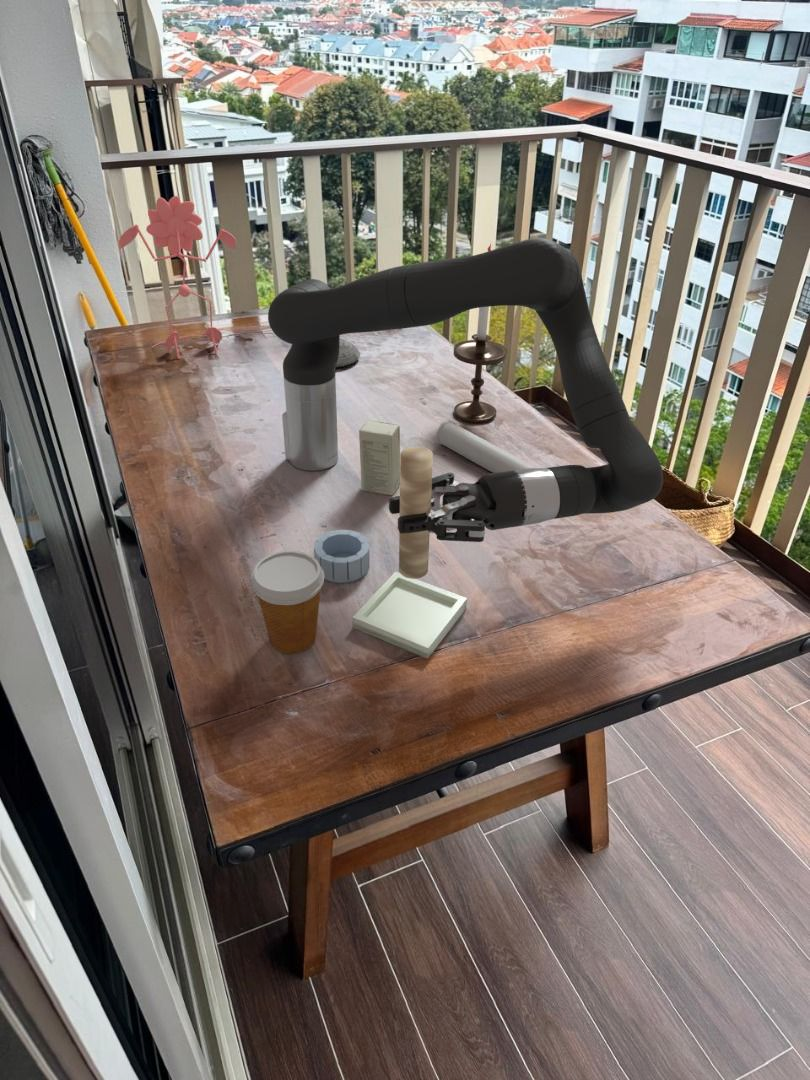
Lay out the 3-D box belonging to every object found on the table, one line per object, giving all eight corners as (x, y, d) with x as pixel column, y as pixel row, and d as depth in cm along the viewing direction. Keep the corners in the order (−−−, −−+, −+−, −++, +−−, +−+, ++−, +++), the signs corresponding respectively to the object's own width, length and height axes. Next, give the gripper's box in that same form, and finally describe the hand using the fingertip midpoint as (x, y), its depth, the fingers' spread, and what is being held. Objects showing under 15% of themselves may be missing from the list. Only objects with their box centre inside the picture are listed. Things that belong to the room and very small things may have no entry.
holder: (304, 571, 116) (303, 551, 114) (335, 544, 122) (334, 524, 120) (350, 590, 113) (349, 569, 111) (379, 560, 119) (379, 540, 117)
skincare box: (400, 484, 138) (402, 424, 131) (392, 496, 134) (393, 435, 127) (368, 478, 139) (367, 418, 132) (359, 489, 136) (358, 429, 129)
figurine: (251, 350, 187) (234, 198, 167) (144, 365, 178) (113, 206, 158) (237, 330, 198) (220, 186, 178) (135, 343, 190) (105, 193, 170)
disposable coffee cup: (260, 616, 108) (252, 549, 101) (327, 613, 109) (324, 547, 102) (255, 664, 100) (246, 595, 93) (327, 661, 101) (324, 592, 94)
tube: (555, 470, 136) (458, 419, 151) (537, 471, 132) (440, 419, 147) (544, 497, 138) (450, 444, 153) (527, 499, 134) (432, 444, 149)
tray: (352, 627, 107) (352, 617, 105) (395, 581, 115) (395, 571, 114) (427, 658, 102) (428, 648, 101) (466, 608, 110) (467, 598, 109)
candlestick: (463, 398, 168) (476, 234, 147) (508, 410, 163) (527, 242, 143) (440, 417, 160) (450, 246, 139) (486, 430, 156) (503, 256, 135)
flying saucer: (326, 343, 193) (325, 322, 189) (372, 358, 186) (372, 336, 182) (285, 361, 183) (284, 339, 179) (332, 377, 176) (332, 355, 172)
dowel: (393, 572, 103) (394, 457, 92) (407, 557, 105) (410, 443, 95) (419, 582, 101) (423, 465, 90) (433, 566, 104) (438, 451, 93)
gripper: (500, 448, 104) (380, 463, 100) (542, 502, 93) (409, 522, 89) (496, 494, 109) (380, 510, 105) (535, 551, 98) (408, 571, 94)
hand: (394, 515), depth 97 cm, fingers closed on dowel, 4 cm apart
